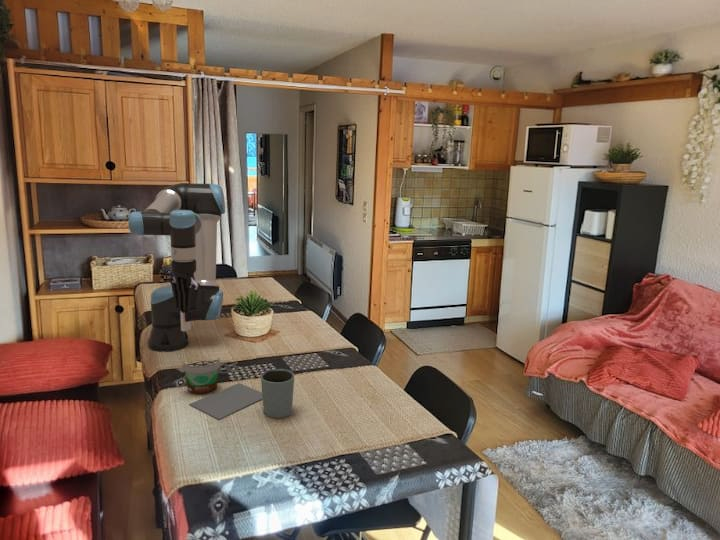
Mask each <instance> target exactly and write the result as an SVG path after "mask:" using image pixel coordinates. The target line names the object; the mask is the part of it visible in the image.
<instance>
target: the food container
mask: <svg viewBox="0 0 720 540" xmlns="http://www.w3.org/2000/svg"><path fill="white" fill-rule="evenodd" d="M221 366H222V363H221V359H220V357H218V359H214V360H205V361H203V360H201V361H198V362H193V363H188V364H186V363H185V362H183V364H182V367H181V369H182V370H183V371H184V375H185V382H186V388H187V392H189V393H190V394H192V395H208V394H211V393H213V392H215V391H216V390H217V388H218V379H219V370H220V368H221Z"/></svg>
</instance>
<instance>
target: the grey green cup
mask: <svg viewBox="0 0 720 540" xmlns="http://www.w3.org/2000/svg"><path fill="white" fill-rule="evenodd" d="M260 381H261V384H260V385H261V392H262V396H263V400H262V406H263V413H264V416H266V417H267V418H270V419H275V420H276V419H277V420H278V419H284V418H287V417H289V416H290V415H291V414H292V413H293V399H294V386H295V374H294V372H293V371H292V370H289V369H285V368H275V369H274V368H273V369H267V370H266V371H263V372H262V374H261V375H260Z"/></svg>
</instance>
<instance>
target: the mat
mask: <svg viewBox="0 0 720 540" xmlns="http://www.w3.org/2000/svg"><path fill="white" fill-rule="evenodd" d="M260 401H263V396H262V391H259V390H257V389H254V388H252V387H250V386H247V385H246V384H243V383H241V382H238V383H236V384H233V385H230V386H229V387H225V388H224V389H221V390H219V391H217V392H215V393H212V394H210V395H207V396H205V397H202V398H201V399H197V400H195V401H193V402H191V403H189V404H188V405H189V406H190V407H192V408H194V409H196V410H198V411H200V412H202V413H204V414H205V415H208V416H209V417H212V418H214V419H216V420H218V421H220V420H223V419H224V418H227V417H229V416H231V415H233V414H235V413H237V412H239V411H241V410H243V409H246V408H248V407H250V406H252V405H255V404H256V403H259V402H260Z"/></svg>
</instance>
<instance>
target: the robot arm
mask: <svg viewBox="0 0 720 540" xmlns="http://www.w3.org/2000/svg"><path fill="white" fill-rule="evenodd" d="M225 213H226V202H225V196H224V190H223V188H222V186H221V185H220V184H214V183H194V182H193V183H191V182H190V183H188V182H181V183H176V184H172V185H169V186H167V187H165V188H163V189H162V190H160V191H159V192H158V193H157V194H156V196H155V200H153V202H152V203H151V204H150V205H149V206H148V207H146V208H145V210H144V211H139V210H138V211H132V212H130V214H129V216H128V230H129V232H130V233H131V234H132V235H137V236H168V237H169V236H170V252H171V253H170V254H171V265H170V266H171V272H172V273H174V276H173V277H169V283H170V285H165V286H161V287H158V288H156V289H154V290H153V291H152V292H151V294H150V313H151V330H150V333H149V337H148V340H147V346H148V349H150V350H151V351H153V352H154V351H155V352H162V351H166V352H174V350H175V351H178V350H179V351H180V350H181V349H182V350H183V349H185V348H186V347H187V346H188V345H190V343H189V340H190V339H189V335H188V333H187V332H188V331H191V329H192V324H191V321H215V320H217V319H219V317H220V315H221V312H222V309H223V303H224V291H223V290H221V289H220V285H219V284H218V283H217V281H216V279H217V278H216V277H217V275H216V274H217V246H218V245H217V240H218V237H217V236H218V233H217V231H218V222H219V221H220V220H221V219H222V215H225Z"/></svg>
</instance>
